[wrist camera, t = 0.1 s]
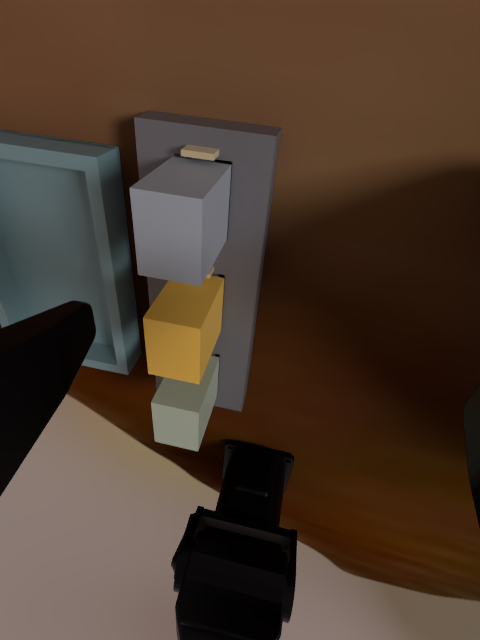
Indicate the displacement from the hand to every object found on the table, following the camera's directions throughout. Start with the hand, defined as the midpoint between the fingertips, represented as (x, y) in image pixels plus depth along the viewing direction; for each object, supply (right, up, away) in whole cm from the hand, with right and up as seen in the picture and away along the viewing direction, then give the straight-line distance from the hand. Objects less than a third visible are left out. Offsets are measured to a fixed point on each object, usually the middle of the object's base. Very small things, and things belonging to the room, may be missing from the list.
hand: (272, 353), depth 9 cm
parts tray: (-13, +5, +18) cm, 23 cm away
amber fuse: (-3, +3, +17) cm, 17 cm away
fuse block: (-3, +3, +17) cm, 17 cm away
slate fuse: (-2, +8, +13) cm, 16 cm away
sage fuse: (-3, -2, +21) cm, 21 cm away
